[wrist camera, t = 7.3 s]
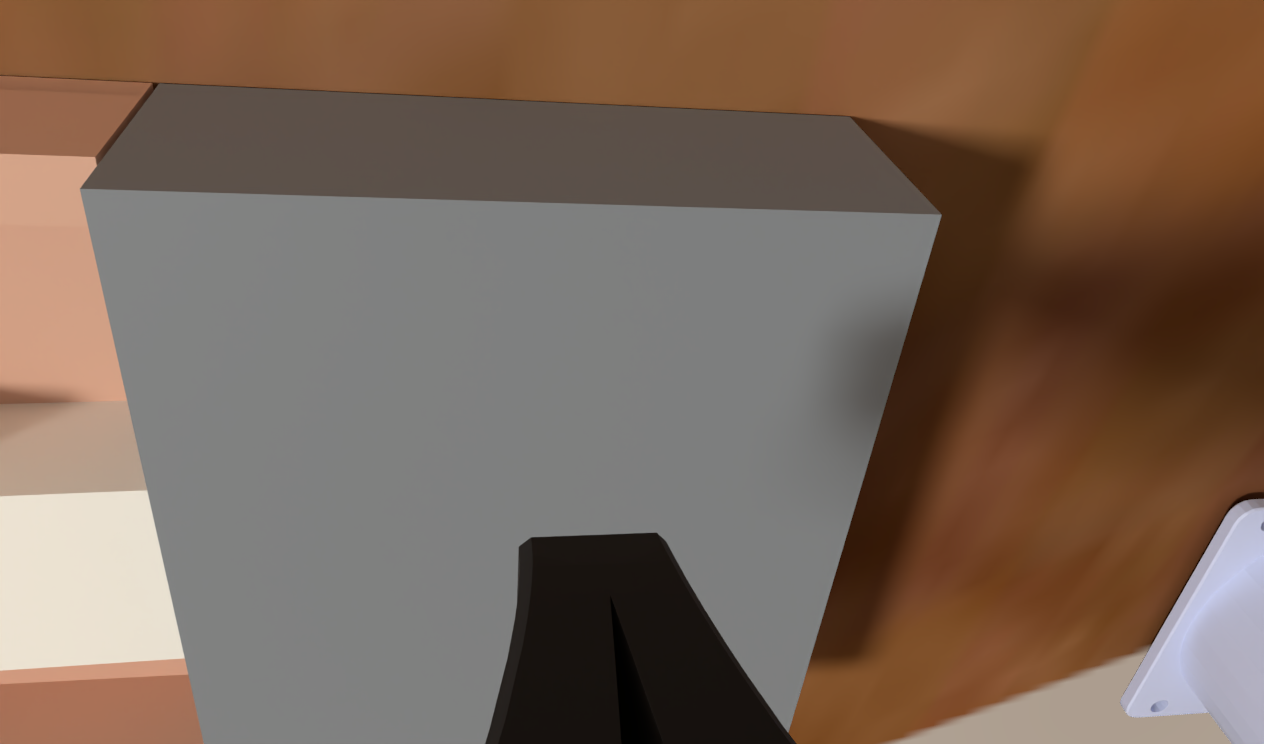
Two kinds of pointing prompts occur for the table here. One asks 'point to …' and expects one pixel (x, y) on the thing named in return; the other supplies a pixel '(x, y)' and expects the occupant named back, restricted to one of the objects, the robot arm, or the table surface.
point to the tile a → (78, 541)
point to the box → (69, 380)
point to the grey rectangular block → (487, 377)
